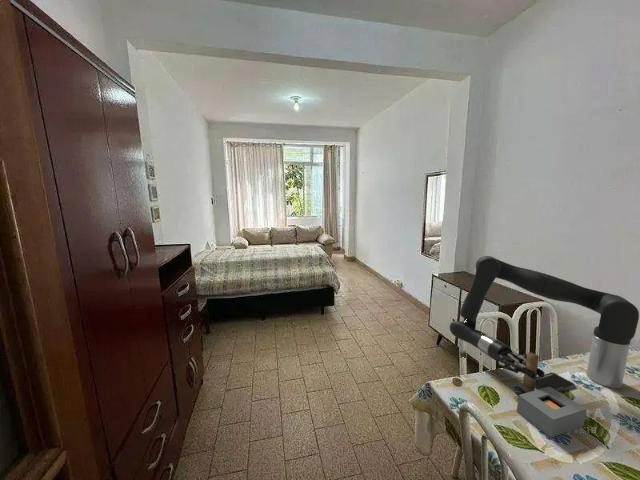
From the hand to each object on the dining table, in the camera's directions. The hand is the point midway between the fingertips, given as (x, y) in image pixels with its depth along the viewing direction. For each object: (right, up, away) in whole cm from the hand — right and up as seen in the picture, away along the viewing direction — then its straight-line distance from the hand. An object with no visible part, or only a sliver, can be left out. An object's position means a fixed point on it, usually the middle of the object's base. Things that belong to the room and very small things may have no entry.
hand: (539, 375), depth 89 cm
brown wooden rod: (-1, -7, +4) cm, 8 cm away
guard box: (-3, -10, -7) cm, 13 cm away
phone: (+11, -8, +9) cm, 17 cm away
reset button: (-3, -9, -7) cm, 12 cm away
